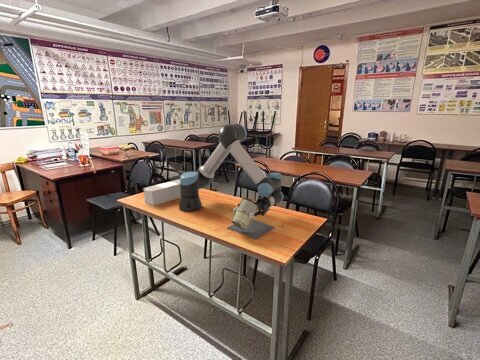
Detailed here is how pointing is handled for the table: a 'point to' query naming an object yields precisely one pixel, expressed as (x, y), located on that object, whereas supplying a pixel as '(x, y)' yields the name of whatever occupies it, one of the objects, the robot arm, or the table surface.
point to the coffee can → (244, 213)
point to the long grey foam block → (162, 192)
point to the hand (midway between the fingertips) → (241, 213)
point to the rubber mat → (253, 229)
